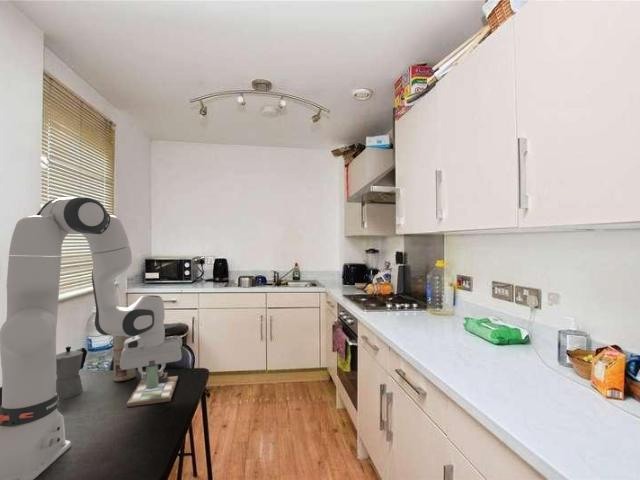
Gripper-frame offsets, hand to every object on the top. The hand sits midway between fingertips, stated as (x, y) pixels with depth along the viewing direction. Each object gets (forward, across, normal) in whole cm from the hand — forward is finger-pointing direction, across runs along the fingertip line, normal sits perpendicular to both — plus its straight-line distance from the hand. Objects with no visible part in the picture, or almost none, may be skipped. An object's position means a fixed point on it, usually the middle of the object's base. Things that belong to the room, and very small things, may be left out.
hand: (152, 376), depth 122 cm
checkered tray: (+8, -1, -7) cm, 10 cm away
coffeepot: (+8, +28, -21) cm, 36 cm away
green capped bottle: (+4, 0, 0) cm, 4 cm away
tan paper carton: (+8, +10, -28) cm, 31 cm away
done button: (+5, -2, -14) cm, 15 cm away
